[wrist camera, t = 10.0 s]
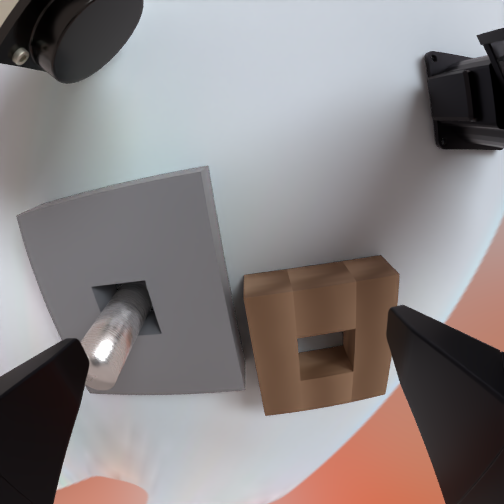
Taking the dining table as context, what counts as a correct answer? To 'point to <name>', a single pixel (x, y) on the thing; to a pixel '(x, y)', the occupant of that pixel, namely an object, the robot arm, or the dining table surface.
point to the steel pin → (115, 334)
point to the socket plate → (144, 278)
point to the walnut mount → (321, 332)
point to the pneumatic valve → (65, 34)
